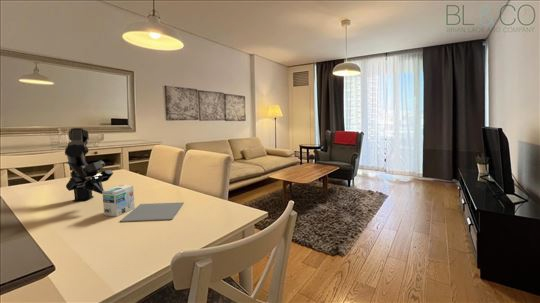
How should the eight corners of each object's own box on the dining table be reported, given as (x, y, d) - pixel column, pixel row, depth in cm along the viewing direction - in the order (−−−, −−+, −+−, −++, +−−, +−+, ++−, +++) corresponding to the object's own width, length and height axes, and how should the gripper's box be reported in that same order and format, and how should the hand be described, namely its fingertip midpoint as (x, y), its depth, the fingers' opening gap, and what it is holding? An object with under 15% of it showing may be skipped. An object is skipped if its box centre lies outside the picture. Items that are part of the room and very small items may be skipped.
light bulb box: (117, 216, 104) (115, 191, 103) (103, 215, 105) (101, 191, 104) (135, 208, 114) (133, 185, 113) (122, 207, 116) (121, 184, 114)
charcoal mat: (120, 222, 98) (119, 220, 98) (140, 204, 118) (140, 203, 118) (172, 219, 101) (172, 218, 101) (183, 203, 120) (183, 202, 120)
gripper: (68, 158, 101) (92, 186, 99) (108, 152, 119) (129, 176, 117) (55, 176, 104) (78, 204, 102) (96, 168, 122) (117, 191, 120)
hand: (102, 193), depth 110 cm, fingers closed
